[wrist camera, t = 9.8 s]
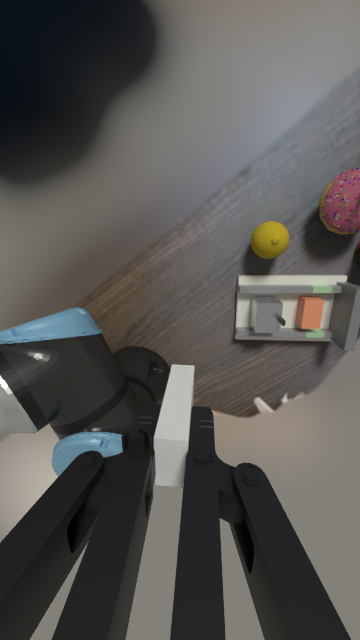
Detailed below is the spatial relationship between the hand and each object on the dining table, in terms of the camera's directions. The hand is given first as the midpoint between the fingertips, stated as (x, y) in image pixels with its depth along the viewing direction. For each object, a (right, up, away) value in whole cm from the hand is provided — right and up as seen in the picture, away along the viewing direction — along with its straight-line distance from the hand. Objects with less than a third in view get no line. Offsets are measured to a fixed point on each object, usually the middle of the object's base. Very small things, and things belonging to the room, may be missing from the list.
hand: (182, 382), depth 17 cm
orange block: (+22, +6, +28) cm, 36 cm away
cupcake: (+25, +23, +23) cm, 41 cm away
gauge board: (+19, +7, +29) cm, 36 cm away
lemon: (+14, +18, +26) cm, 35 cm away
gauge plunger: (+15, +6, +28) cm, 32 cm away
